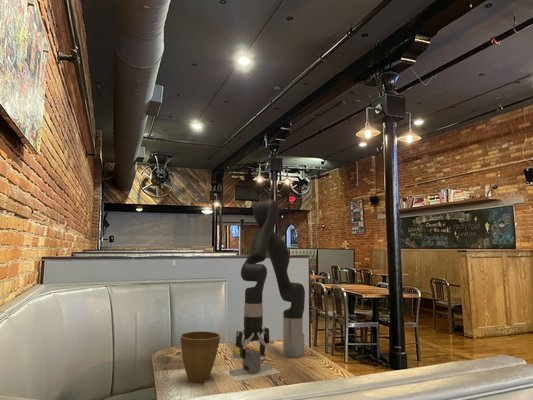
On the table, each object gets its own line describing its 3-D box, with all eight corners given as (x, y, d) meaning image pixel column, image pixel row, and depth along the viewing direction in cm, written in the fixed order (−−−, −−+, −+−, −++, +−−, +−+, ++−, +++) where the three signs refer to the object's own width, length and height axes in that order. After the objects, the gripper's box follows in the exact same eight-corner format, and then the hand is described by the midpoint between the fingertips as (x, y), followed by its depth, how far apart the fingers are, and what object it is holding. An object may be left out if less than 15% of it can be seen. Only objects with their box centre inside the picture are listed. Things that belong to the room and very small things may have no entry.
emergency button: (229, 346, 172) (259, 344, 177) (229, 356, 171) (259, 353, 176) (234, 351, 163) (266, 349, 168) (234, 362, 162) (266, 359, 168)
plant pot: (220, 385, 133) (221, 338, 135) (177, 387, 129) (180, 340, 132) (216, 372, 147) (218, 330, 149) (178, 373, 144) (180, 331, 146)
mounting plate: (264, 366, 155) (264, 364, 155) (280, 374, 145) (280, 372, 145) (221, 374, 144) (221, 371, 144) (236, 383, 134) (236, 380, 135)
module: (252, 367, 149) (252, 349, 150) (260, 371, 144) (260, 352, 145) (242, 369, 146) (243, 350, 147) (250, 373, 141) (250, 354, 142)
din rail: (268, 367, 151) (268, 363, 151) (272, 369, 149) (272, 365, 149) (229, 374, 141) (229, 370, 141) (232, 376, 139) (232, 372, 139)
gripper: (263, 311, 155) (262, 352, 153) (233, 314, 147) (232, 357, 145) (273, 314, 149) (272, 356, 147) (242, 317, 141) (241, 362, 139)
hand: (252, 356), depth 146 cm, fingers open, 8 cm apart
